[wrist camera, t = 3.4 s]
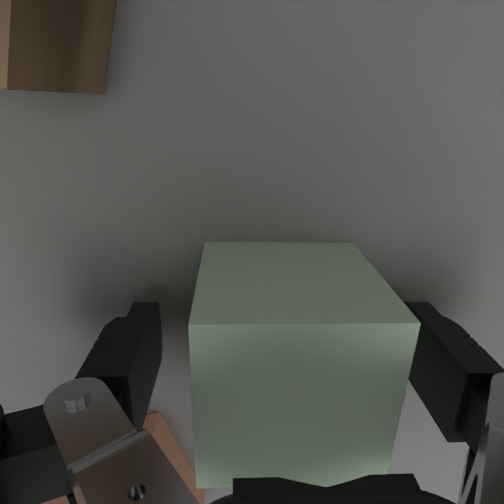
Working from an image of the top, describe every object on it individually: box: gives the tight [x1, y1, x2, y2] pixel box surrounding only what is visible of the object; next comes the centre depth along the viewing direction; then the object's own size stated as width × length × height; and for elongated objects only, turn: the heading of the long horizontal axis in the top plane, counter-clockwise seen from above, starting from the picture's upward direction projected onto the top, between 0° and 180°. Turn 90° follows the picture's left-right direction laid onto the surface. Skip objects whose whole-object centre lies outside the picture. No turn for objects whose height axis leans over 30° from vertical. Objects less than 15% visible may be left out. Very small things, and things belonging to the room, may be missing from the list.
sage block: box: [188, 242, 421, 489], centre depth 11 cm, size 5×5×5 cm
